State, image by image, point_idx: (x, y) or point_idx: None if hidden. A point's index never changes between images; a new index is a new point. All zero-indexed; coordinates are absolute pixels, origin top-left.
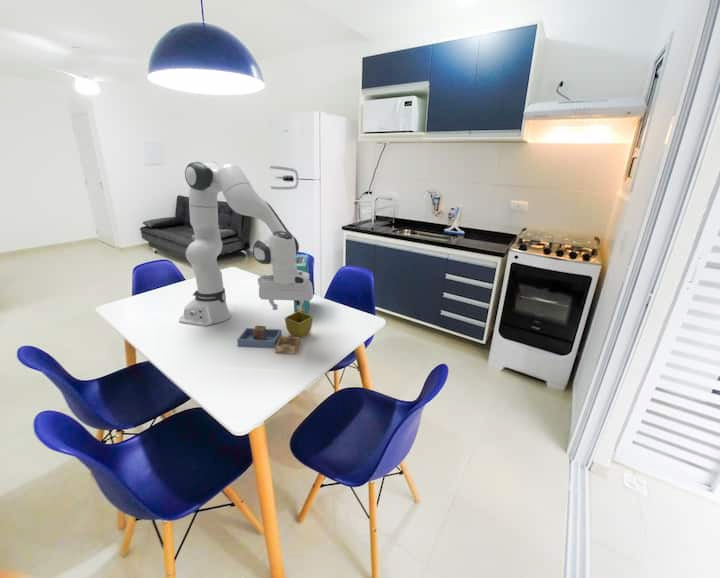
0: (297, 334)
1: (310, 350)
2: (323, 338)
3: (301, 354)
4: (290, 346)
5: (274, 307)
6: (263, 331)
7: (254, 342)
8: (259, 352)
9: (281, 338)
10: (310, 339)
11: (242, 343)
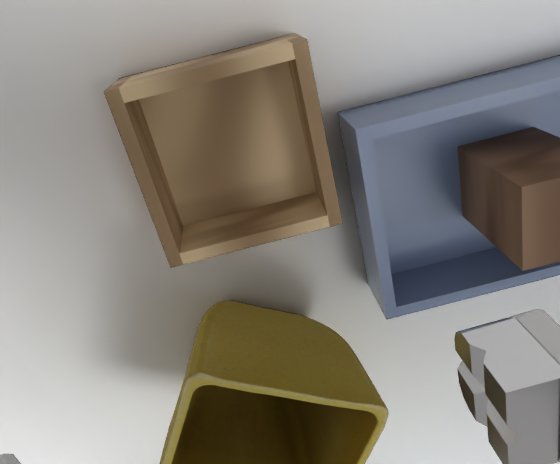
0: (232, 310)
1: (54, 187)
2: (65, 364)
3: (87, 106)
4: (165, 91)
5: (528, 356)
6: (510, 198)
7: (530, 77)
8: (439, 18)
9: (324, 204)
10: (147, 322)
11: None
